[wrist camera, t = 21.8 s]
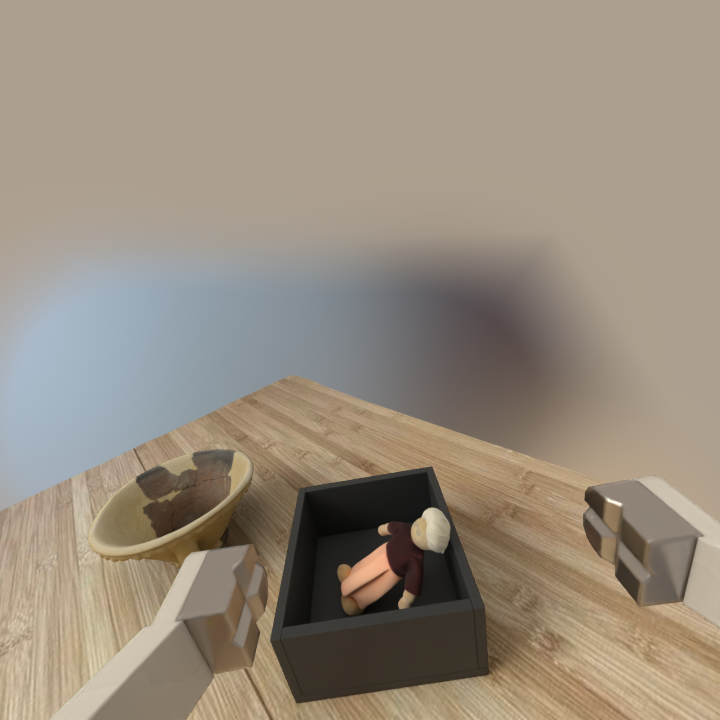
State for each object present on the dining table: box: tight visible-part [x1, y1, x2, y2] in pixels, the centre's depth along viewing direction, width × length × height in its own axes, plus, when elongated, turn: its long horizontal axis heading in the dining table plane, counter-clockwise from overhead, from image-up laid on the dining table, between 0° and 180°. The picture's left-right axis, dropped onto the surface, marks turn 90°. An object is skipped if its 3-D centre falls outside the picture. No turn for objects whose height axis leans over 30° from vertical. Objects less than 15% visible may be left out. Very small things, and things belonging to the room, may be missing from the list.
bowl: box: [88, 449, 254, 568], centre depth 42 cm, size 18×18×10 cm
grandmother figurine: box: [337, 508, 450, 616], centre depth 30 cm, size 8×4×13 cm
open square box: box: [270, 467, 489, 703], centre depth 32 cm, size 16×16×8 cm
